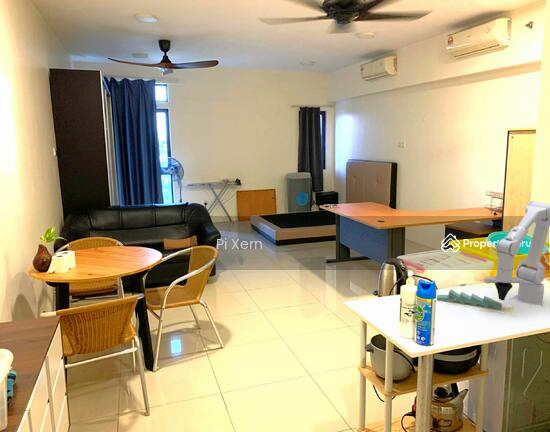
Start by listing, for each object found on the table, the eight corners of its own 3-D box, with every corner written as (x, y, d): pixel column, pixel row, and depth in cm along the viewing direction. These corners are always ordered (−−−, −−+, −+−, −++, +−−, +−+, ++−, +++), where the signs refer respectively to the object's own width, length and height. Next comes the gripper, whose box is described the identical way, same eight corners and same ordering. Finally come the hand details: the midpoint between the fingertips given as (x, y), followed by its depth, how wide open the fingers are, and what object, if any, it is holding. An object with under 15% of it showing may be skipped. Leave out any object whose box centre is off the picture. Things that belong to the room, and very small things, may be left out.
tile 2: (488, 301, 178) (472, 293, 181) (488, 305, 175) (472, 296, 177) (486, 304, 179) (470, 296, 181) (487, 308, 175) (470, 299, 178)
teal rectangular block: (477, 299, 180) (461, 291, 183) (477, 303, 177) (461, 294, 179) (475, 302, 181) (459, 294, 183) (475, 306, 177) (459, 297, 180)
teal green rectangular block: (501, 303, 176) (484, 295, 179) (502, 307, 173) (485, 299, 175) (499, 306, 177) (483, 298, 179) (500, 310, 173) (483, 302, 176)
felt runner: (513, 307, 177) (513, 306, 177) (514, 315, 169) (514, 314, 169) (447, 297, 188) (447, 296, 188) (446, 304, 180) (446, 303, 180)
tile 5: (454, 295, 184) (437, 294, 187) (454, 298, 181) (436, 297, 184) (454, 298, 184) (437, 298, 187) (454, 302, 181) (437, 301, 184)
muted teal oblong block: (465, 298, 182) (451, 289, 184) (465, 301, 179) (450, 292, 181) (463, 301, 183) (448, 291, 185) (463, 304, 179) (448, 294, 181)
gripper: (517, 265, 175) (513, 295, 178) (482, 265, 176) (479, 295, 178) (527, 270, 169) (523, 302, 171) (491, 270, 169) (487, 302, 171)
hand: (501, 299), depth 174 cm, fingers closed
